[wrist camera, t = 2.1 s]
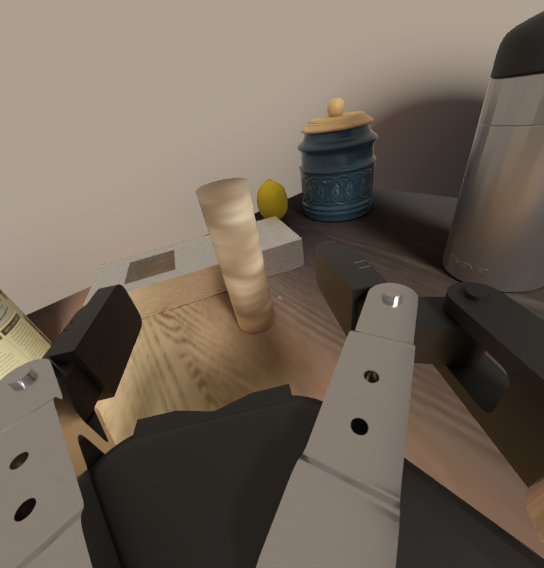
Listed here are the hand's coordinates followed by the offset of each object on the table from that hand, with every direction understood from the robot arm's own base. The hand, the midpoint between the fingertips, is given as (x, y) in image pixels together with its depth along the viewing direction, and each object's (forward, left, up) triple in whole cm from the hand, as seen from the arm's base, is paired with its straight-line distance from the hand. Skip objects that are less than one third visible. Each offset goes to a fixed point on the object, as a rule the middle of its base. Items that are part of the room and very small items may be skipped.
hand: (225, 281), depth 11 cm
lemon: (-13, -35, -13) cm, 40 cm away
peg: (-2, -11, -13) cm, 17 cm away
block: (+2, -23, -13) cm, 26 cm away
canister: (-25, -33, -13) cm, 44 cm away
